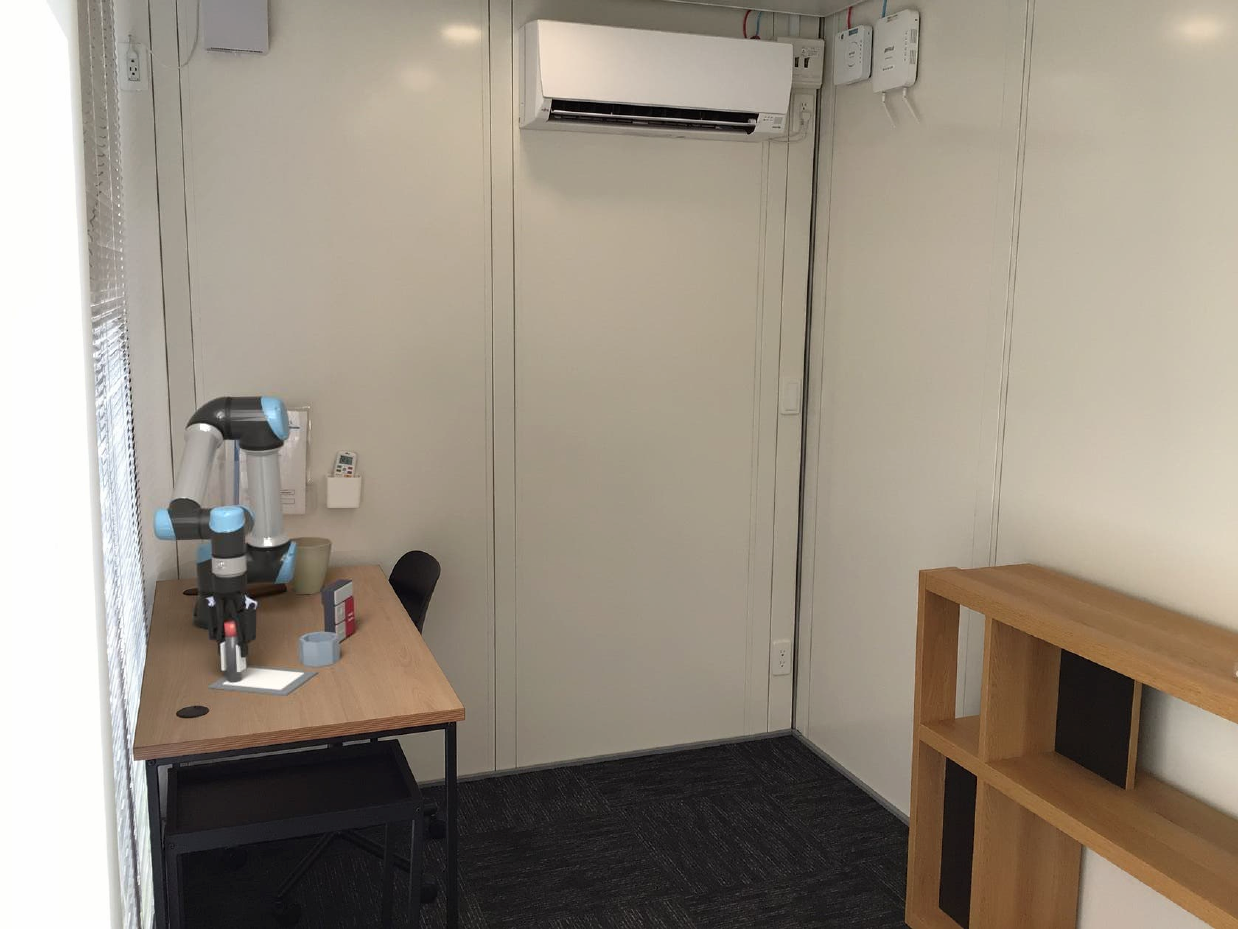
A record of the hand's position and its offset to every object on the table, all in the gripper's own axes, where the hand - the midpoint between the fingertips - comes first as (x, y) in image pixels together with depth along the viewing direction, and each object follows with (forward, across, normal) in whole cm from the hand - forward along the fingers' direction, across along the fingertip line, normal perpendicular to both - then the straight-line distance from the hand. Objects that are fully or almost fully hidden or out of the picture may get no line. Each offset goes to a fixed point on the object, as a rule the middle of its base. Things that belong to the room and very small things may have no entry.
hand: (233, 669), depth 245 cm
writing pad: (+3, +6, +3) cm, 8 cm away
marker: (+3, 0, 0) cm, 3 cm away
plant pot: (+4, -21, +75) cm, 78 cm away
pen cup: (+3, +12, +19) cm, 23 cm away
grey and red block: (+4, +9, +36) cm, 37 cm away
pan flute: (+4, -44, +69) cm, 82 cm away
